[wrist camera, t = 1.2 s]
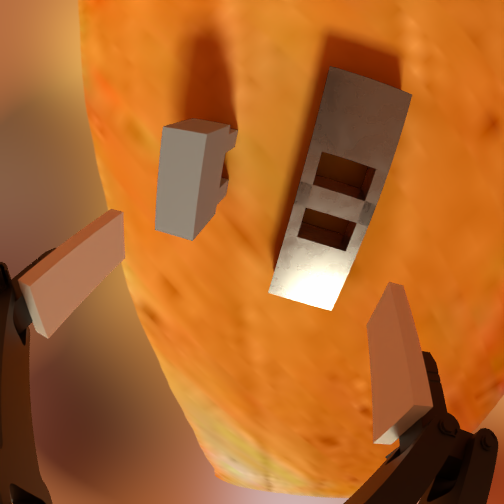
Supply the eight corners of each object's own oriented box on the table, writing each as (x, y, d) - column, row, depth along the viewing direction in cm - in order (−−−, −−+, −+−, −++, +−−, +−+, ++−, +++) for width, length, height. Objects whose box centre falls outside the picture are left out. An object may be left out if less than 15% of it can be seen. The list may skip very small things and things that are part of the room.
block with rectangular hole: (329, 69, 26) (329, 66, 23) (401, 94, 26) (412, 94, 22) (273, 274, 40) (268, 292, 37) (331, 291, 39) (331, 310, 36)
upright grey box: (205, 115, 32) (163, 126, 23) (239, 121, 31) (207, 134, 23) (194, 194, 37) (155, 229, 28) (224, 202, 37) (192, 240, 28)
